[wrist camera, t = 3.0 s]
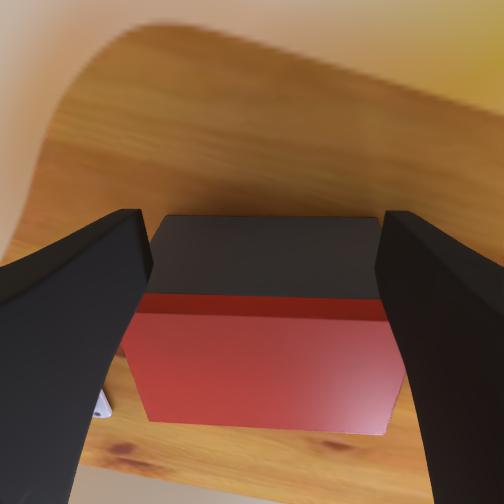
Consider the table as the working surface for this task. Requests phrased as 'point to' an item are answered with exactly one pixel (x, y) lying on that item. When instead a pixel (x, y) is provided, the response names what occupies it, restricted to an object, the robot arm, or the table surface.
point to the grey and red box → (265, 325)
